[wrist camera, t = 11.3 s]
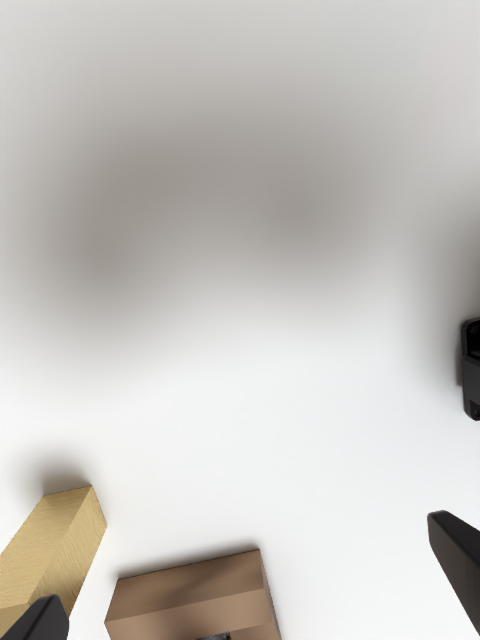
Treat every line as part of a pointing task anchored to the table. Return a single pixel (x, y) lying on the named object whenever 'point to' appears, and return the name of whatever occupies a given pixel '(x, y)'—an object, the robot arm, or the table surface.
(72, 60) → the table surface
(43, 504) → the square bit
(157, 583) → the bore block
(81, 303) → the table surface
